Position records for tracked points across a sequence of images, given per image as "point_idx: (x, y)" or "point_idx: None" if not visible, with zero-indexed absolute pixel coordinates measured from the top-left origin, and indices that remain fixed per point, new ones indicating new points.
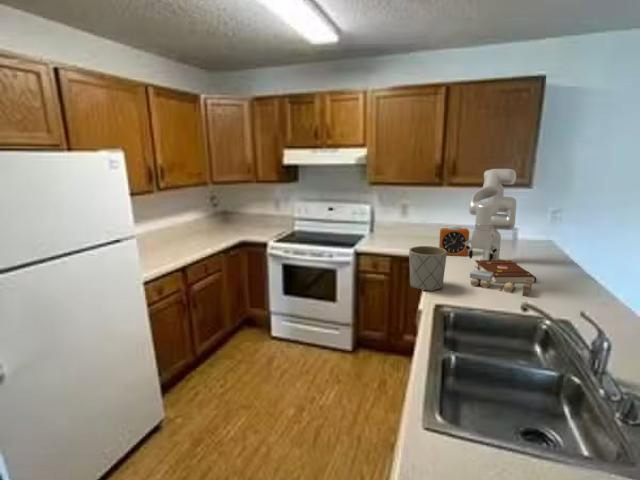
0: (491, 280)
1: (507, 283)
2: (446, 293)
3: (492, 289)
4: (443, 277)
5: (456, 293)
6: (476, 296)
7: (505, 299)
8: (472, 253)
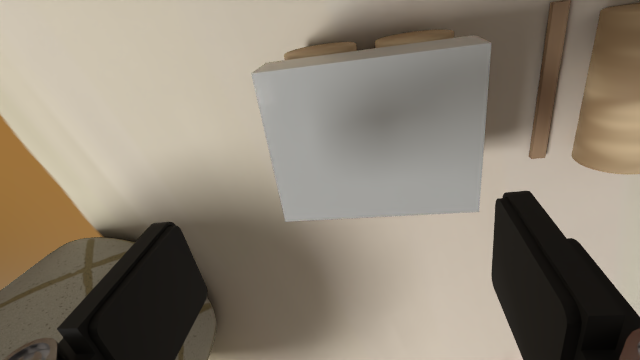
0: None
1: (634, 131)
2: (270, 335)
3: None
4: (188, 351)
5: (308, 317)
6: (412, 308)
7: None
8: (140, 282)
